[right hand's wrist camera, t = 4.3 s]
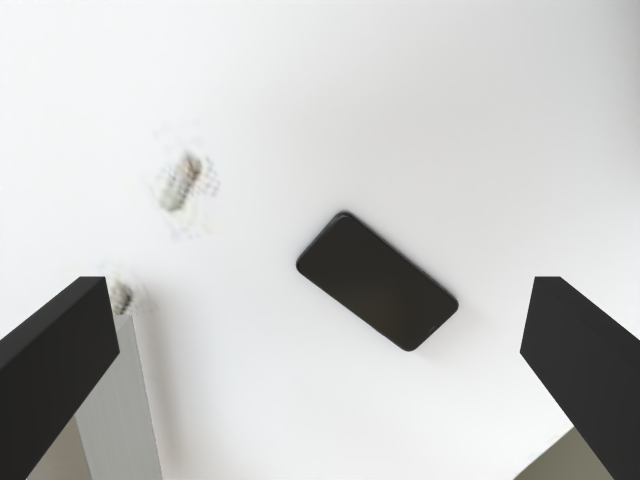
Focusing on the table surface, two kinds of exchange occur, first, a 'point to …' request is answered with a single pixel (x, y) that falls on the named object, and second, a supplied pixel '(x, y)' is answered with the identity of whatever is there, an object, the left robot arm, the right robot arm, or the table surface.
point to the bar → (108, 425)
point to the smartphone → (376, 282)
